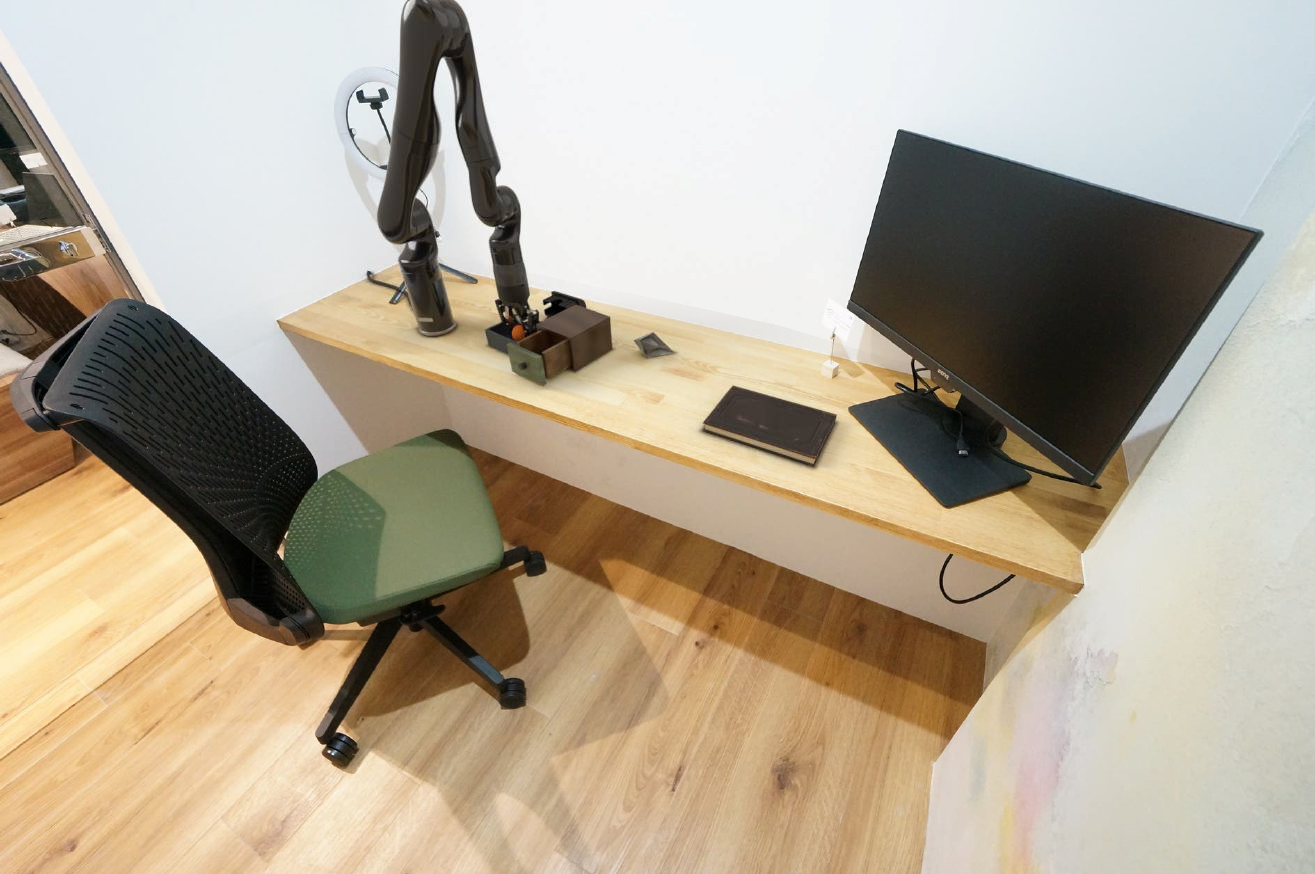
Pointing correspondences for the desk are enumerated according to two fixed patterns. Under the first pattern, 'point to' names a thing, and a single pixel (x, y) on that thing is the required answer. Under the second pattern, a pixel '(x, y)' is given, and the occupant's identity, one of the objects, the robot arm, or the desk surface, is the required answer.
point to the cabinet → (581, 333)
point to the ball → (518, 333)
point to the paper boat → (652, 345)
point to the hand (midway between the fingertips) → (523, 341)
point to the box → (500, 336)
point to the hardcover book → (771, 424)
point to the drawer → (540, 356)
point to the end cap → (560, 303)
